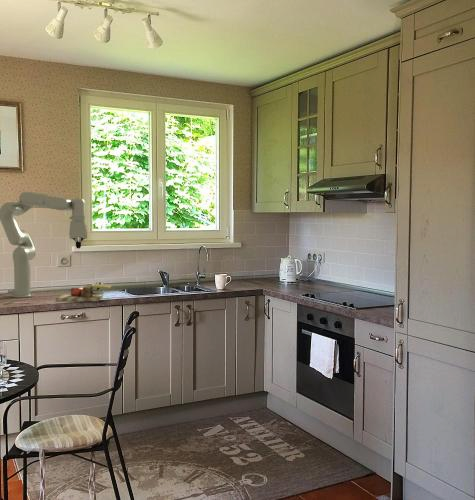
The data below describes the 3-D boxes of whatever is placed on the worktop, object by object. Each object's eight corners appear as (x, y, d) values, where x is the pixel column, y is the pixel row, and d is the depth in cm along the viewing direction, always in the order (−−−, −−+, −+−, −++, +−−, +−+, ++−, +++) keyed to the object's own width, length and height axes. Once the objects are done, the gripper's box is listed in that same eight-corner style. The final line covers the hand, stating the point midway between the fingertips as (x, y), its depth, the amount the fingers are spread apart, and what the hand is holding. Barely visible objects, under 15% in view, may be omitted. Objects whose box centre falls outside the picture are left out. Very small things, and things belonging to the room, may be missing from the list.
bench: (56, 301, 338) (56, 287, 337) (62, 297, 352) (62, 285, 351) (98, 301, 339) (98, 287, 339) (102, 297, 353) (102, 285, 353)
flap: (90, 285, 340) (108, 286, 341) (93, 283, 350) (111, 284, 351) (90, 287, 340) (108, 288, 341) (93, 285, 350) (111, 286, 351)
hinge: (90, 293, 374) (95, 279, 374) (97, 295, 375) (102, 281, 375) (90, 296, 358) (95, 281, 358) (97, 299, 359) (103, 284, 359)
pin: (70, 296, 343) (70, 288, 342) (72, 295, 348) (72, 287, 347) (102, 296, 344) (102, 288, 343) (103, 295, 349) (103, 287, 348)
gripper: (64, 218, 345) (64, 248, 346) (89, 219, 346) (89, 248, 347) (67, 218, 353) (67, 247, 354) (91, 219, 354) (91, 248, 355)
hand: (78, 248), depth 351 cm, fingers closed
